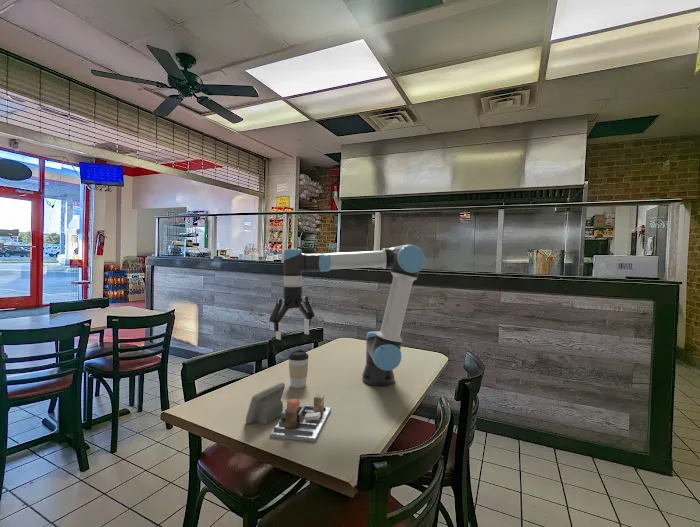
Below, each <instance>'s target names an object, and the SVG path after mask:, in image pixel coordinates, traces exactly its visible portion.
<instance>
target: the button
mask: <svg viewBox="0 0 700 527" xmlns="http://www.w3.org/2000/svg"><path fill="white" fill-rule="evenodd" d="M300 403H301V401H300V399H299V398H289V399H287V401H286V406H287V409H288V408H294V409H297V412H298V411H299V410H300V405H301V404H300Z"/></svg>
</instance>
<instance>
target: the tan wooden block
mask: <svg viewBox="0 0 700 527" xmlns="http://www.w3.org/2000/svg"><path fill="white" fill-rule="evenodd" d="M324 403H325V395H324V394H323V393H322V394H320V393H319V394H318V393H315V395H314V396H313V406H314V411H316V412H323V411H324V407H325V404H324Z"/></svg>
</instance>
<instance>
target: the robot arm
mask: <svg viewBox="0 0 700 527" xmlns="http://www.w3.org/2000/svg"><path fill="white" fill-rule="evenodd" d="M425 263H426V256H425V253H424V251H423V250H422V249H421V248H420V247H419V246H418V245H414V244H410V243H408V244H402V245H401V244H400V245H396V246H393V247H385V248H384V247H383V248H382V249H381V250H371V251H370V250H369V251H368V250H367V251H349V252H348V251H346V252H345V251H344V252H326V253H325V252H324V253H303V250H302V248H286V249H284V251H283V285H284V286H283V298H279V297H278V298H277V299H276V304H275V306H274V308H273V311H272V313H271V316H270V318H269V322H270V323H273V330H274V332H275V339H276V340H279V341H281V340H282V335H281V334H282V328H281V327H282V324H281V321H282V319H283V317H284V316H285V314H286V313H287V312H288V311H289V310H290V309H291V310H292V309H298V310H299V311H300V313H301V314H303V316H304V317H305V318H304V320H303V325H304V326H303V333H304V334H305V335H310V327H311V324H312V323H311V322H312V321H311V320H312V319H313V318H314V317H315V313H314V311H313V309H312V306H311V304H310V302H309V297H308V296H307V295H306V296H305V295H303V286H302V285H303V272H304V273H305V272H316V273H317V272H321V273H324V272H330V271H331V270H344V269H345V270H346V269H347V270H348V269H349V270H350V269H362V268H363V269H366V268H382V269H384V270H390V274H391V275H392V282H391V285H390V289H389V294H388V297H387V301H386V307H385V311H384V314H383V319H382V322H381V327H380V330H375V331H373V330H372V331H368V332H367V333H366V338H365V340H366V344H365V345H366V351H365V352H366V354H365V356H366V357H365V359H366V360H365V366H364V369H363V372H362V375H361V376H362V378H361V380H362V382H363V383H365V384H367V385H369V386H374V387H375V386H376V387H385V386H390V385H393V383H395V373H394V370H395V369H396V368H397V367H399V365H400V364H401V361H402V352H401V347H402V344H403V339H402V337H401V332H402V329H403V324H404V319H405V315H406V312H407V307H408V303H409V300H410V295H411V291H412V288H413V287H412V286H413V283H414V281H416V280H417V279H418V277H419V273H420V271H421V270H422V269H423V268H424V265H425ZM302 295H303V296H302ZM302 302H303V304H302ZM282 305H283V306H282ZM303 305H304V306H303Z"/></svg>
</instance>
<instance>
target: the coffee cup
mask: <svg viewBox="0 0 700 527" xmlns="http://www.w3.org/2000/svg"><path fill="white" fill-rule="evenodd" d="M287 358H288V370H289V380H290V387H291V388H294V389H302V388H305V387H306V386H307V378H308V370H309V368H308V367H309V354H308V353H307V352H306V351H304V350H303V349H298V350H295V351H292V352H290V354H289V355H288V357H287Z"/></svg>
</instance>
